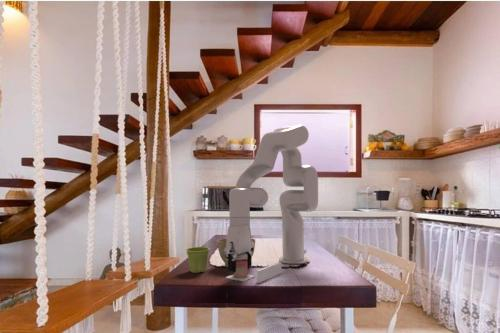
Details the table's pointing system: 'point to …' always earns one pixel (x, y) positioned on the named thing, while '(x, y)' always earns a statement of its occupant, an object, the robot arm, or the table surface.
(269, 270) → the low wall
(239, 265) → the small box
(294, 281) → the table surface
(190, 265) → the plant pot
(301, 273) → the table surface
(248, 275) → the pad
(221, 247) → the planter bowl
